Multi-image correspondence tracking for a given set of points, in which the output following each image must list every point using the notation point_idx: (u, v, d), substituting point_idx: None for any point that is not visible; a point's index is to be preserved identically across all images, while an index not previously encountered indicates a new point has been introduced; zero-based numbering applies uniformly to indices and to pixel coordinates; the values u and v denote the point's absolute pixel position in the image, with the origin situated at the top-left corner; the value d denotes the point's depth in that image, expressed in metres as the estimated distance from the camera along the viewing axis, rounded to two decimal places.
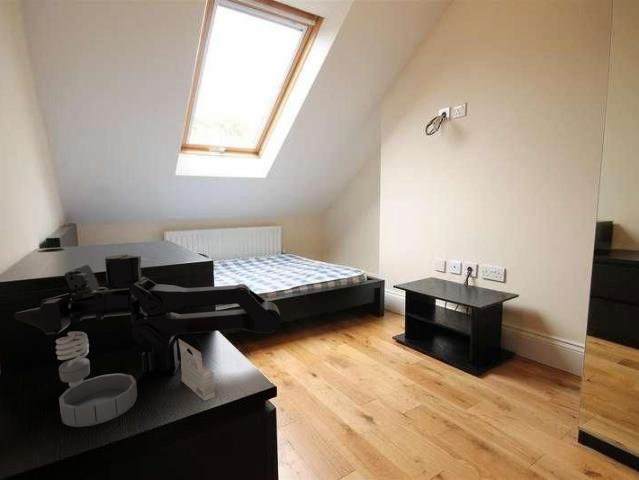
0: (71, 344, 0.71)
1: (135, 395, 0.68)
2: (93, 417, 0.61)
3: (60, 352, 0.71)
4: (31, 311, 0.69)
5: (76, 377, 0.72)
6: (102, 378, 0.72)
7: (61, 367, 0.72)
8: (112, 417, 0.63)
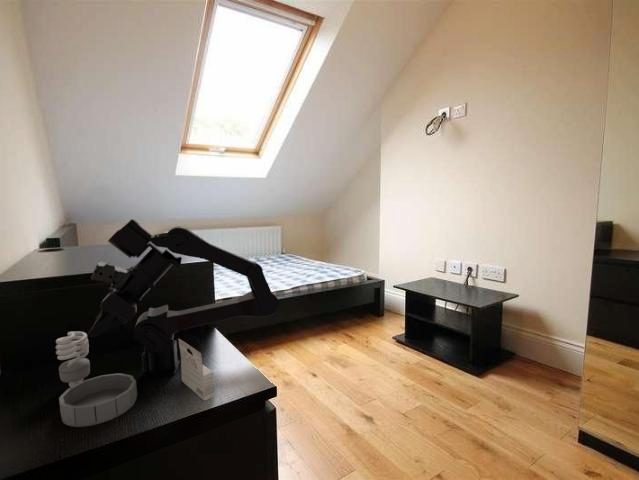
0: (71, 344, 0.71)
1: (135, 395, 0.68)
2: (93, 417, 0.61)
3: (60, 352, 0.71)
4: (98, 320, 0.70)
5: (76, 377, 0.72)
6: (102, 378, 0.72)
7: (61, 367, 0.72)
8: (112, 417, 0.63)
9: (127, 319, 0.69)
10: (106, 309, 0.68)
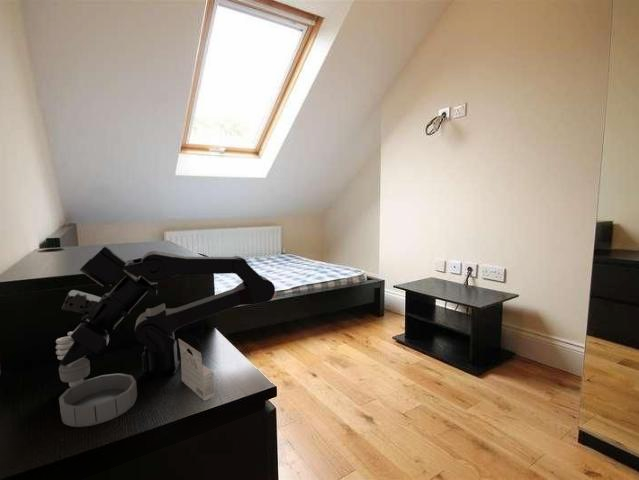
0: (71, 344, 0.71)
1: (135, 395, 0.68)
2: (93, 417, 0.61)
3: (60, 352, 0.71)
4: (70, 349, 0.69)
5: (76, 377, 0.72)
6: (102, 378, 0.72)
7: (61, 367, 0.72)
8: (112, 417, 0.63)
9: (98, 351, 0.67)
10: None
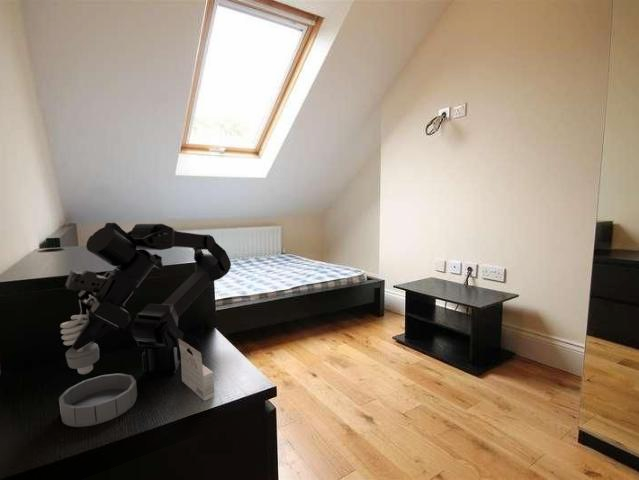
0: (82, 326, 0.66)
1: (135, 395, 0.68)
2: (93, 417, 0.61)
3: (70, 336, 0.65)
4: (85, 330, 0.65)
5: (89, 361, 0.67)
6: (102, 378, 0.72)
7: (70, 353, 0.66)
8: (112, 417, 0.63)
9: (123, 326, 0.64)
10: (96, 317, 0.64)
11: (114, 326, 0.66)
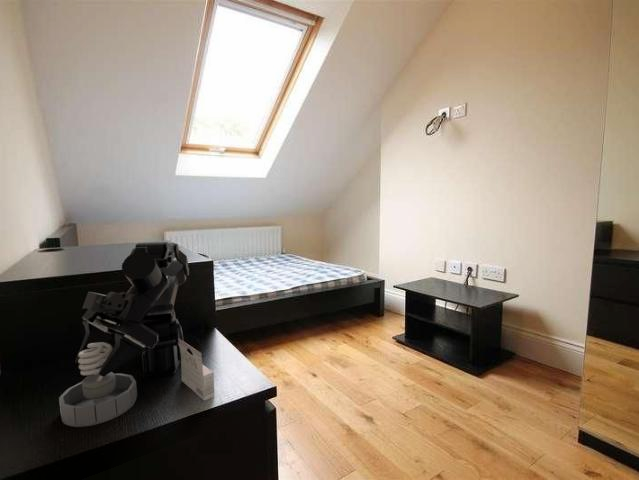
0: (104, 354, 0.64)
1: (135, 395, 0.68)
2: (93, 417, 0.61)
3: (92, 365, 0.63)
4: (114, 355, 0.63)
5: (109, 390, 0.65)
6: None
7: (89, 383, 0.64)
8: (112, 417, 0.63)
9: (152, 346, 0.65)
10: (129, 340, 0.63)
11: (144, 349, 0.65)
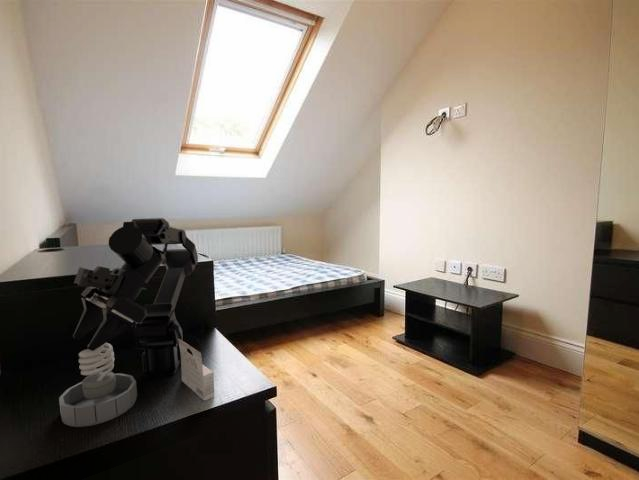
0: (105, 354, 0.64)
1: (135, 395, 0.68)
2: (93, 417, 0.61)
3: (92, 365, 0.63)
4: (101, 329, 0.62)
5: (109, 390, 0.66)
6: None
7: (89, 383, 0.64)
8: (112, 417, 0.63)
9: (140, 321, 0.64)
10: (114, 314, 0.62)
11: (132, 324, 0.64)
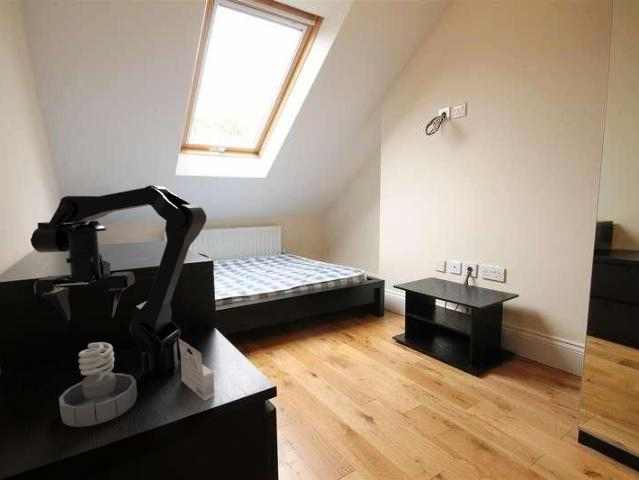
0: (105, 354, 0.64)
1: (135, 395, 0.68)
2: (93, 417, 0.61)
3: (92, 365, 0.63)
4: None
5: (109, 390, 0.66)
6: None
7: (89, 383, 0.64)
8: (112, 417, 0.63)
9: None
10: None
11: None
